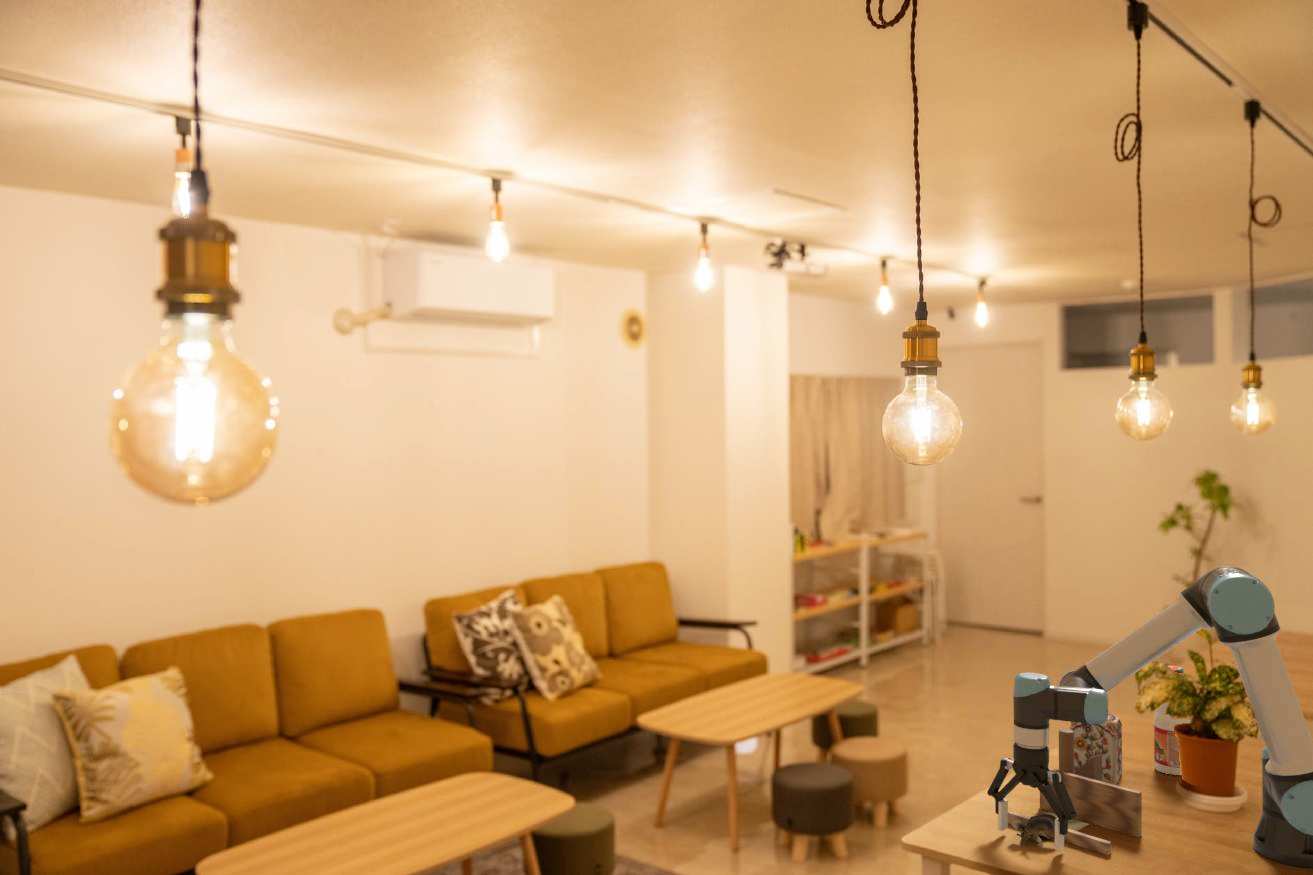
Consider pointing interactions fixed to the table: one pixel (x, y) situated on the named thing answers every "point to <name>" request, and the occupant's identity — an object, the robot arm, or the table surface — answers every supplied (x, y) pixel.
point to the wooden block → (1066, 758)
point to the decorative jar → (1100, 746)
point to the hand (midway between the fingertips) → (1030, 838)
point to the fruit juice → (1166, 739)
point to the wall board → (1094, 810)
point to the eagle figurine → (1035, 827)
